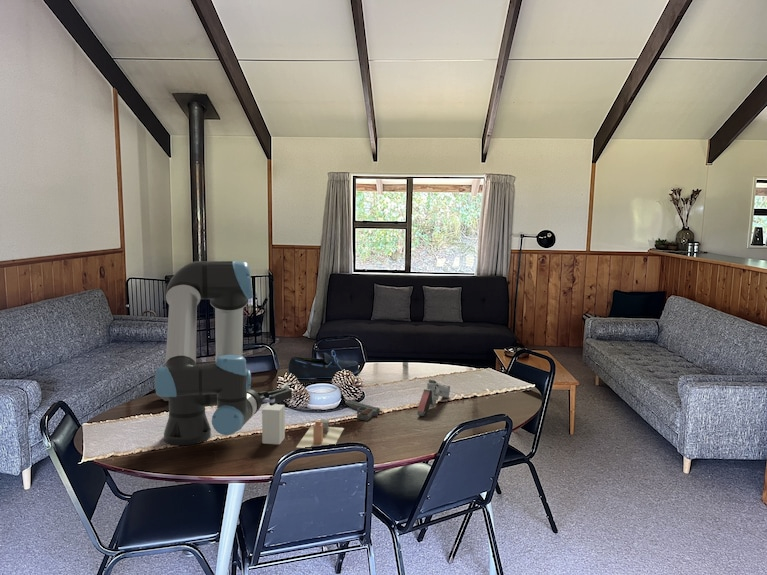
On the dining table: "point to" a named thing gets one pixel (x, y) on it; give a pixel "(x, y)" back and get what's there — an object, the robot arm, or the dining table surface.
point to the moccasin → (320, 366)
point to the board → (328, 436)
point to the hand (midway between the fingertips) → (265, 386)
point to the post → (318, 432)
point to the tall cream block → (273, 424)
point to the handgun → (364, 410)
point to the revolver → (431, 396)
